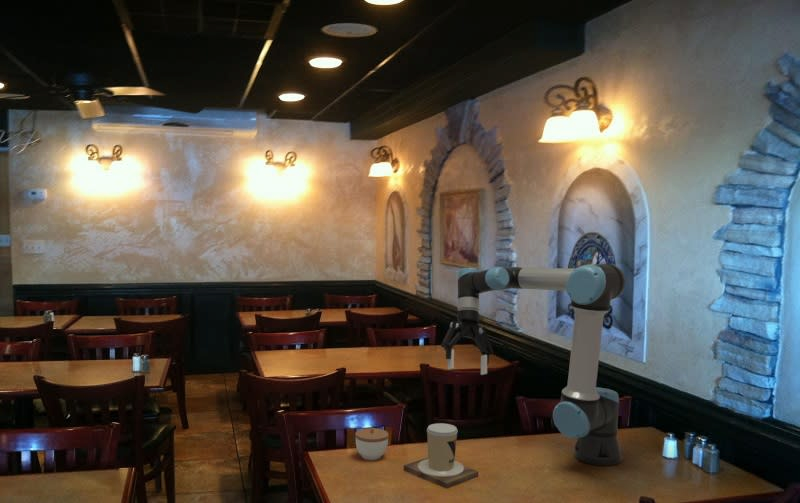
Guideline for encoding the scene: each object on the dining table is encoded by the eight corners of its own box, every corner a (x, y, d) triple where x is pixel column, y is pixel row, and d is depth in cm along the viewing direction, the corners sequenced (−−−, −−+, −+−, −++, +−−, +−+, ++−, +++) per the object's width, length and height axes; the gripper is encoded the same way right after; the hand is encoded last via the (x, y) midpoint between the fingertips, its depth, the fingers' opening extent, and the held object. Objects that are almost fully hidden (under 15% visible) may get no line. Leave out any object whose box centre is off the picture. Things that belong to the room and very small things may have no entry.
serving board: (478, 476, 211) (478, 469, 211) (446, 488, 202) (446, 481, 202) (434, 459, 224) (435, 453, 224) (403, 470, 215) (403, 463, 215)
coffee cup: (454, 473, 207) (455, 433, 207) (423, 470, 209) (424, 431, 209) (458, 462, 217) (459, 424, 216) (428, 459, 218) (429, 421, 218)
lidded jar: (394, 457, 226) (395, 428, 225) (371, 465, 218) (371, 436, 217) (371, 448, 233) (372, 421, 232) (347, 456, 225) (348, 427, 225)
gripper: (491, 319, 254) (491, 377, 247) (432, 307, 243) (430, 368, 236) (503, 315, 248) (503, 374, 240) (443, 303, 237) (442, 365, 230)
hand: (467, 371), depth 238 cm, fingers open, 13 cm apart
